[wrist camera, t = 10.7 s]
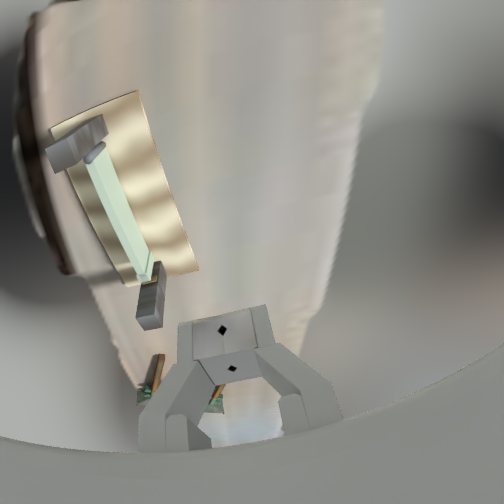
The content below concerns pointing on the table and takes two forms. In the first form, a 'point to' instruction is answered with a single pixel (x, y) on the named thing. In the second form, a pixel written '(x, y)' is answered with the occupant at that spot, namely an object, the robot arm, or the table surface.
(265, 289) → the table surface
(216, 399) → the miniature gate
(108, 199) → the gate panel
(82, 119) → the base
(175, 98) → the table surface
